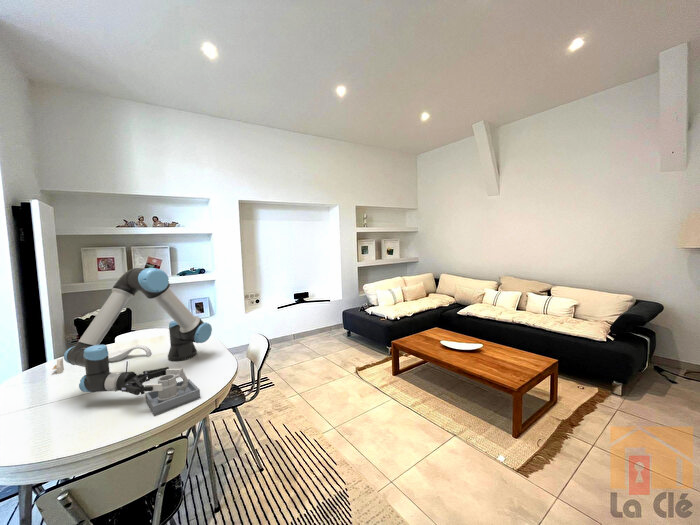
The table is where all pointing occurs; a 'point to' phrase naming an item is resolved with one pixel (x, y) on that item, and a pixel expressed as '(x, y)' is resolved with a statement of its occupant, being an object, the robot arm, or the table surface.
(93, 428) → the table surface
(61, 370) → the architectural model
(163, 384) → the mug
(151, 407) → the box
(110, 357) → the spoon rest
